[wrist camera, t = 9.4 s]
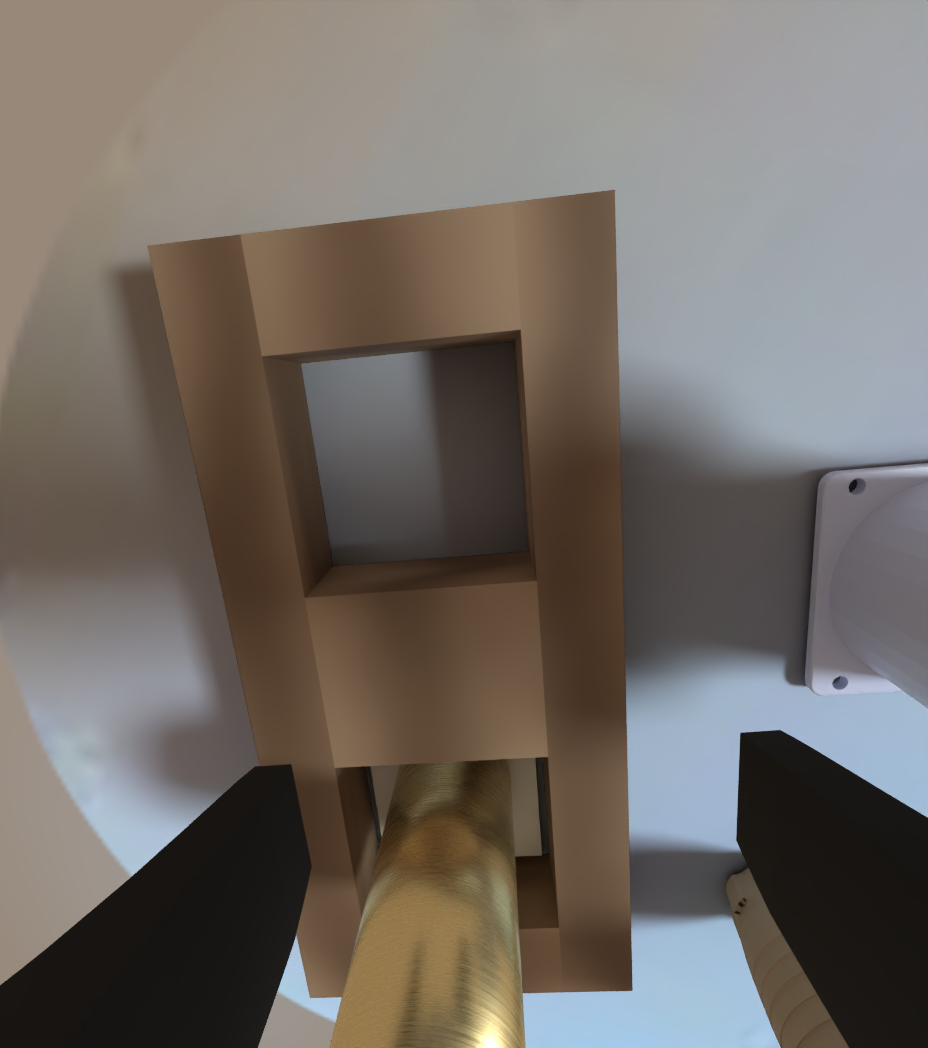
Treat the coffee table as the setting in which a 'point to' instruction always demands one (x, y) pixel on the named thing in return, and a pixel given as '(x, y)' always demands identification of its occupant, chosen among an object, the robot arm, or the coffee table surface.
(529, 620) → the mount block
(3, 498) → the coffee table surface
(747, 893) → the handle
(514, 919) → the peg
